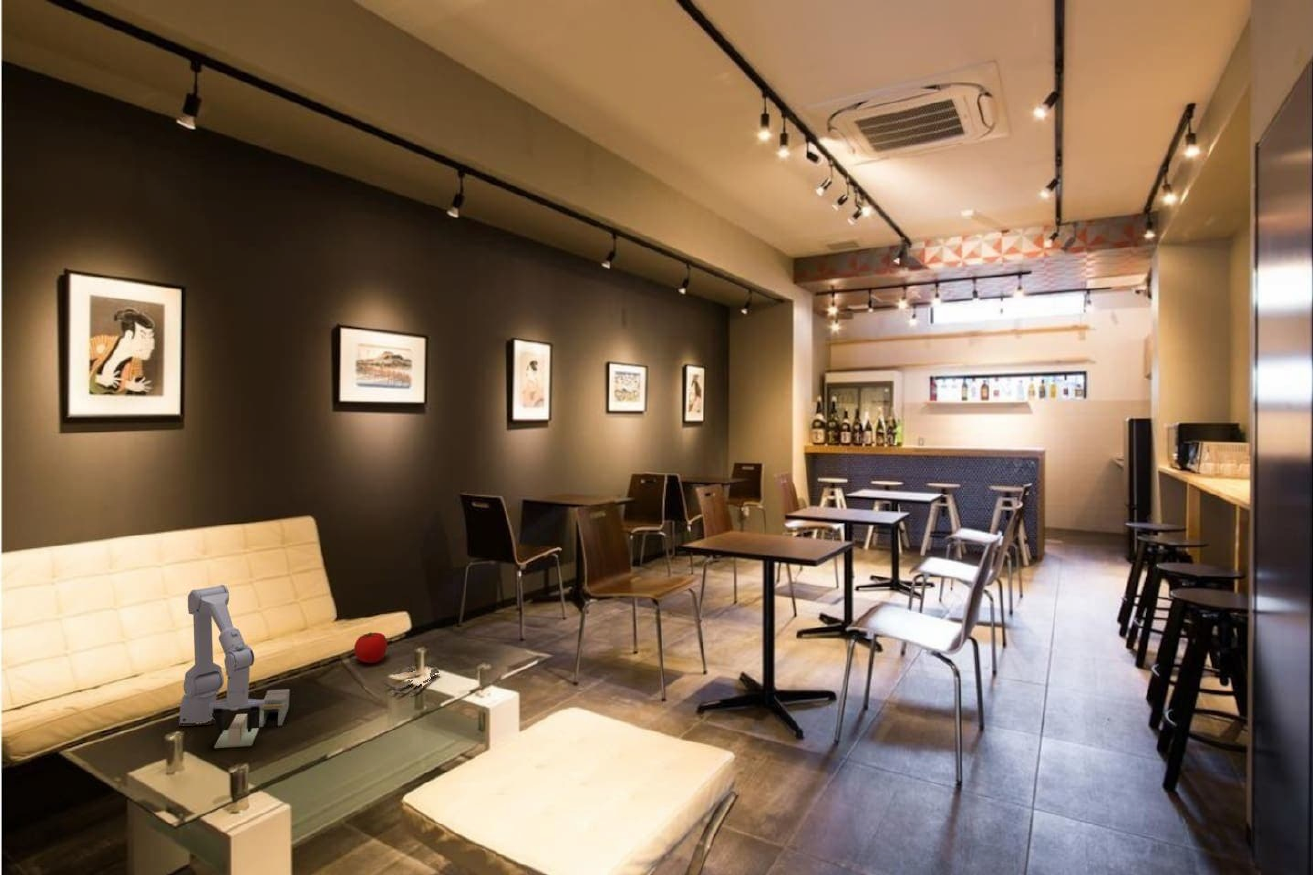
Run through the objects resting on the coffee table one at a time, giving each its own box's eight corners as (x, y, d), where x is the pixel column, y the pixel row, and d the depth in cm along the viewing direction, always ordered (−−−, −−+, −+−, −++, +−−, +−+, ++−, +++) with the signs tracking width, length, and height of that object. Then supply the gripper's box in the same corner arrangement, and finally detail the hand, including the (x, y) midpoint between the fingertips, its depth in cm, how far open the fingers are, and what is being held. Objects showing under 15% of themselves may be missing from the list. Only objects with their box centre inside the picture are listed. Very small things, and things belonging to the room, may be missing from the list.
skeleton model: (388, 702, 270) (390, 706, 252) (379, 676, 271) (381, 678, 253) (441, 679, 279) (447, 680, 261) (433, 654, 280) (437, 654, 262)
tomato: (394, 659, 289) (396, 632, 289) (368, 670, 277) (370, 641, 276) (372, 652, 294) (374, 625, 294) (345, 662, 282) (347, 634, 281)
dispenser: (258, 727, 227) (260, 706, 226) (266, 709, 238) (267, 690, 238) (281, 725, 229) (282, 705, 228) (288, 708, 240) (289, 689, 240)
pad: (214, 748, 212) (214, 746, 212) (222, 732, 221) (223, 730, 221) (251, 745, 215) (251, 743, 215) (258, 729, 225) (258, 728, 225)
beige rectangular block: (227, 745, 213) (228, 729, 213) (235, 729, 223) (236, 714, 222) (238, 744, 214) (239, 728, 214) (246, 728, 224) (247, 713, 223)
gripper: (206, 695, 209) (204, 739, 210) (261, 692, 214) (259, 735, 214) (213, 685, 216) (211, 728, 216) (266, 683, 220) (264, 725, 221)
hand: (235, 731), depth 216 cm, fingers open, 7 cm apart
